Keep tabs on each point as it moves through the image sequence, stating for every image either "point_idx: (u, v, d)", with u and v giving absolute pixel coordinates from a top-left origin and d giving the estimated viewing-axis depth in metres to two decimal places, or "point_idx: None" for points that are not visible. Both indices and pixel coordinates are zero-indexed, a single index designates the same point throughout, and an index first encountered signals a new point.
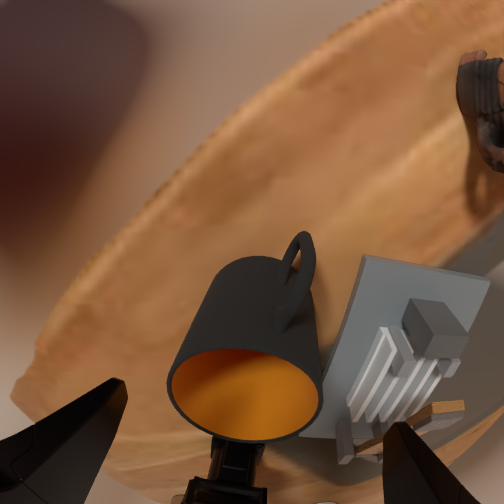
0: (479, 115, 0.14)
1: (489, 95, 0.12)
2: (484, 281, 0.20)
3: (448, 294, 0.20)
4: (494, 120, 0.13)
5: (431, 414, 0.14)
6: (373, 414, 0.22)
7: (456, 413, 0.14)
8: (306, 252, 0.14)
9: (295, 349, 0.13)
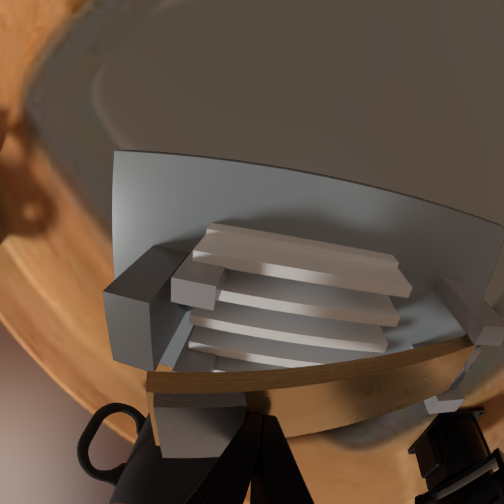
0: None
1: None
2: (114, 167, 0.13)
3: (139, 241, 0.15)
4: None
5: None
6: None
7: None
8: None
9: (114, 492, 0.12)
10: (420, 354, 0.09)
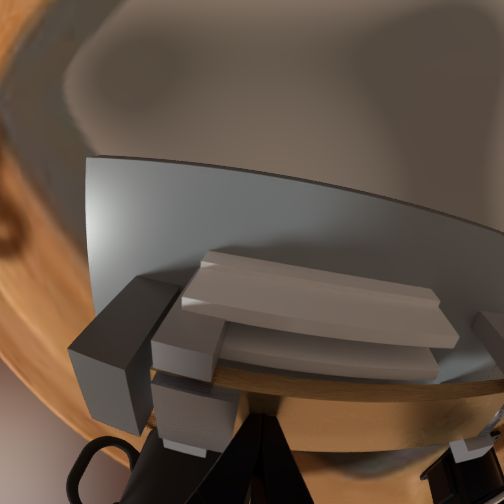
0: None
1: None
2: (87, 177, 0.10)
3: (120, 269, 0.12)
4: None
5: None
6: None
7: None
8: None
9: None
10: (447, 391, 0.08)
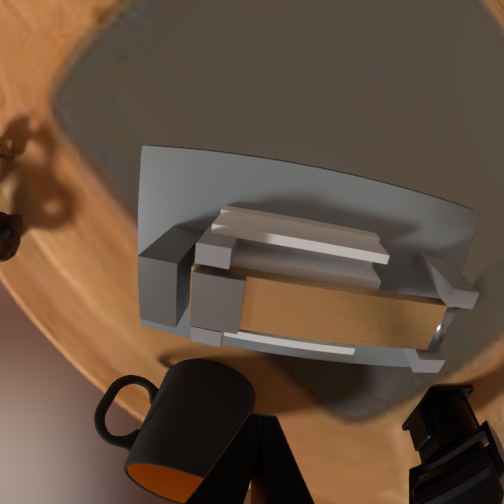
0: None
1: None
2: (142, 159, 0.16)
3: (162, 221, 0.18)
4: None
5: None
6: None
7: None
8: None
9: (129, 455, 0.15)
10: (385, 294, 0.14)
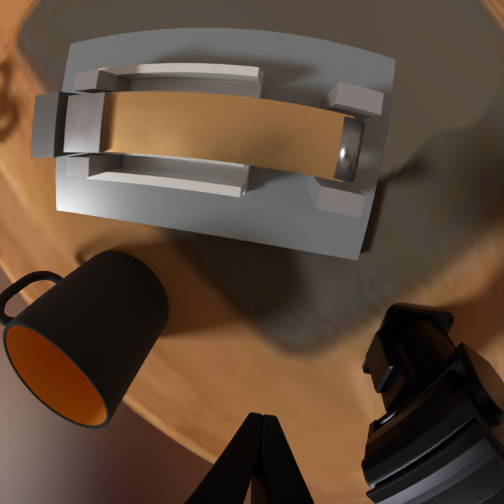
0: None
1: None
2: (69, 53, 0.14)
3: None
4: None
5: None
6: None
7: None
8: None
9: None
10: None
